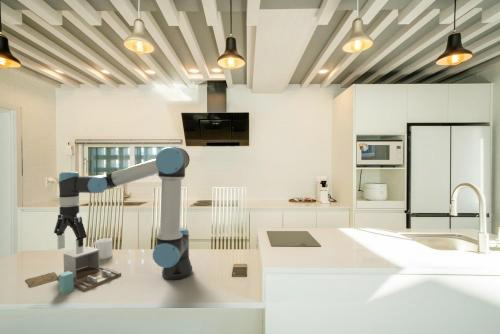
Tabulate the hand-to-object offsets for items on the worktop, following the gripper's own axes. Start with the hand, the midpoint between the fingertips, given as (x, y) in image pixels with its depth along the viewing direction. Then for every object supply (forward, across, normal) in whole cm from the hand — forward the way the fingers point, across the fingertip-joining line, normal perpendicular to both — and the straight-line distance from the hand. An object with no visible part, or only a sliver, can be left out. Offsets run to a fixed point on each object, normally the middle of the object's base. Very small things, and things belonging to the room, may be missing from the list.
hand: (70, 250), depth 123 cm
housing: (+15, +7, -10) cm, 20 cm away
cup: (+17, +20, -30) cm, 40 cm away
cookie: (+17, +19, +2) cm, 26 cm away
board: (+16, +1, -10) cm, 19 cm away
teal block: (+17, -3, +4) cm, 17 cm away
